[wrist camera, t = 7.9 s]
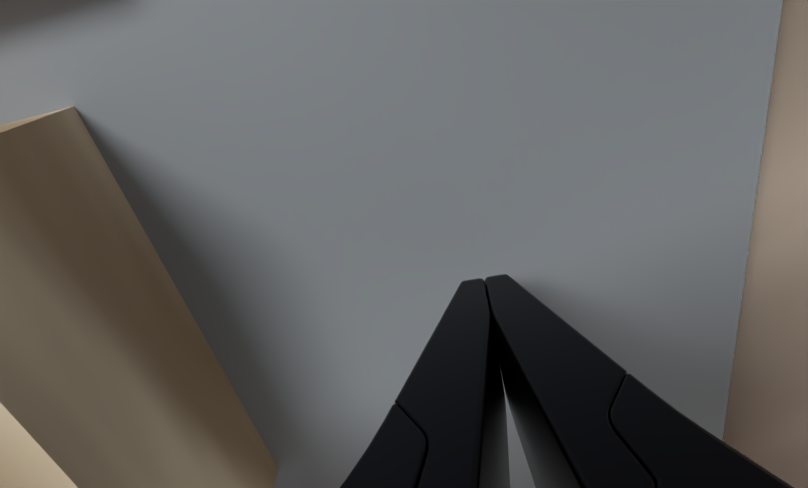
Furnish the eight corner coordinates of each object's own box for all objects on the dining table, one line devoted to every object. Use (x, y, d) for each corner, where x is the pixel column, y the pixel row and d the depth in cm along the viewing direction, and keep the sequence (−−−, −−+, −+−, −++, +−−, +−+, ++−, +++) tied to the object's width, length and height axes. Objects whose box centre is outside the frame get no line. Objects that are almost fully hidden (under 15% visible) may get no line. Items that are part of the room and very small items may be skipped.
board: (791, -477, 6) (960, -686, 4) (695, 475, 14) (734, 545, 12) (-483, -15, 8) (-720, -13, 7) (74, 543, 17) (34, 608, 15)
